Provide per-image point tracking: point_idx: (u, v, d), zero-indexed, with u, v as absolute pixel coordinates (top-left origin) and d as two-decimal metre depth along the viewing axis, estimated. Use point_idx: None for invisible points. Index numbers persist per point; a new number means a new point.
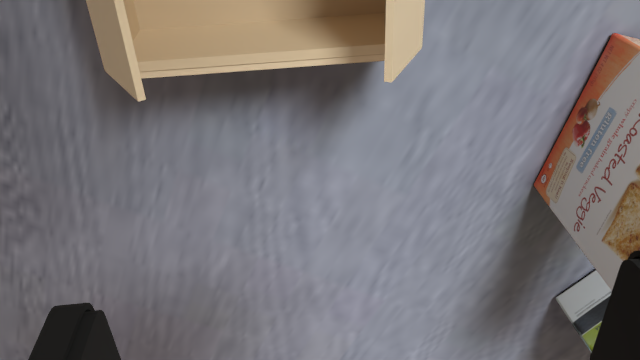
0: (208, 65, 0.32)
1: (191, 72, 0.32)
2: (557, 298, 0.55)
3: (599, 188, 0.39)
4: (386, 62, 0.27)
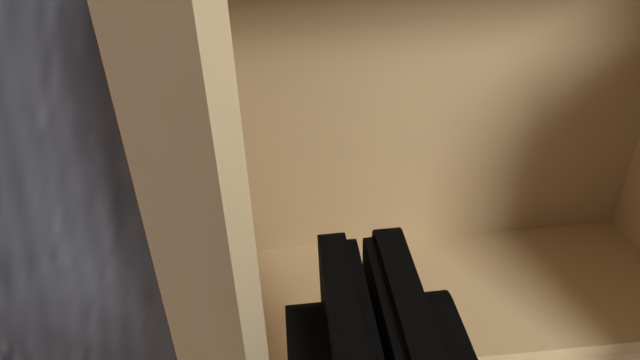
0: None
1: None
2: None
3: None
4: None
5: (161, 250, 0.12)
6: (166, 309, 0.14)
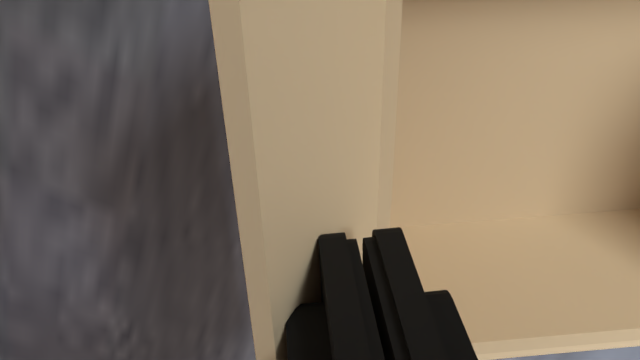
0: (528, 347, 0.18)
1: (496, 355, 0.19)
2: None
3: None
4: None
5: None
6: None
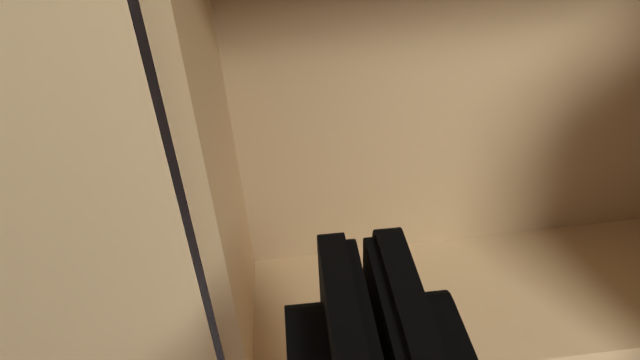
0: None
1: None
2: None
3: None
4: None
5: None
6: None
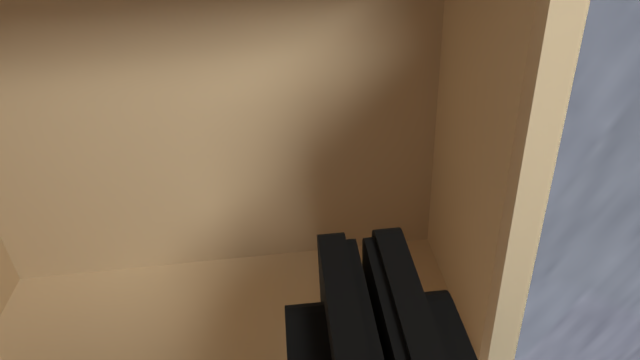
0: None
1: None
2: None
3: None
4: None
5: None
6: None
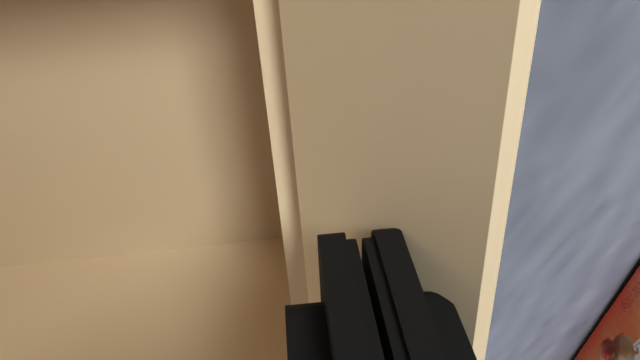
0: None
1: None
2: None
3: None
4: None
5: None
6: None
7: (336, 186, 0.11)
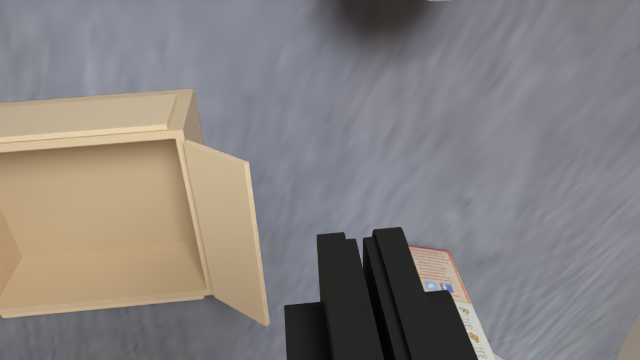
0: (59, 308, 0.44)
1: (48, 312, 0.44)
2: None
3: None
4: (265, 316, 0.40)
5: None
6: None
7: (213, 221, 0.38)
